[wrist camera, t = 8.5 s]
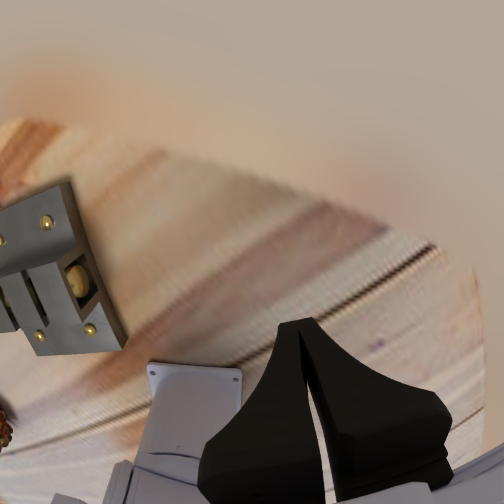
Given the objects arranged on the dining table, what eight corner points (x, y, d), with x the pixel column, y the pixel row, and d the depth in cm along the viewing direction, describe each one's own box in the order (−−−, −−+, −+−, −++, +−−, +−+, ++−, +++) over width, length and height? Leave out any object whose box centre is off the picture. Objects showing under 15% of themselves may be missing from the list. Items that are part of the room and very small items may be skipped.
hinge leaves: (127, 339, 24) (109, 374, 19) (44, 347, 24) (22, 375, 20) (69, 181, 19) (33, 193, 15) (-11, 217, 20) (-44, 233, 16)
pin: (98, 291, 21) (79, 315, 18) (7, 308, 22) (-13, 327, 19) (82, 249, 20) (59, 267, 17) (-7, 275, 21) (-30, 291, 18)
